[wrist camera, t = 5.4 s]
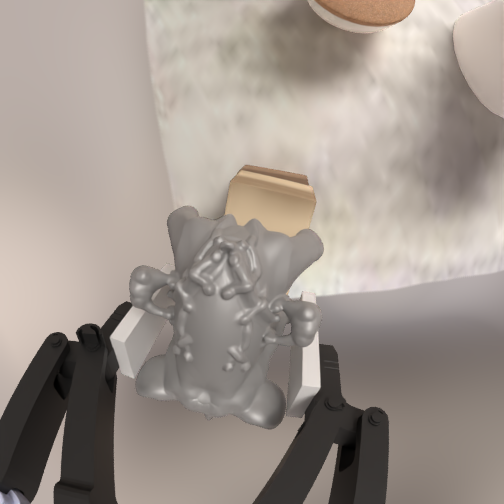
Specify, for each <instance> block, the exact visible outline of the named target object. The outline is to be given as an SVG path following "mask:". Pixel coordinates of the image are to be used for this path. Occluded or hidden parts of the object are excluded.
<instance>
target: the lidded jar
mask: <svg viewBox="0 0 504 504" xmlns="http://www.w3.org/2000/svg"><path fill="white" fill-rule="evenodd" d="M307 1H308V3H309V5H310V6H311V8H312V9H313V10H314V11H315V12H316V13H317V14H318V15H319V16H320V17H321V18H322V19H324V20H325V21H326V22H328V23H330V24H331V25H333V26H335V27H337V28H340V29H342V30H346V31H349V32H355V33H375V32H379V31H383V30H385V29H387V28H390V27H392V26H393V25H395V24H396V23H398V22H401V21H402V20H403V19H405V18H406V17H407V16H408V15H409V14H410V13H411V12H412V10H413V8H414V4H415V0H307Z"/></svg>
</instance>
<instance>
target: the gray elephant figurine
mask: <svg viewBox="0 0 504 504" xmlns="http://www.w3.org/2000/svg"><path fill="white" fill-rule="evenodd" d="M167 226H168V232H169V237H170V240H171V246H172V249H173V253H174V260H175V270H172V271H171V272H170V274H166V273H164V272H162V271H160V270H158V269H155V268H152V267H148V266H144V265H142V266H139V267H137V268H135V269H134V271H133V272H132V274H131V279H130V283H129V287H130V288H129V290H130V300H131V303H132V305H133V306H134V307H135V308H139V309H142V310H144V311H146V312H148V313H150V314H153V315H156V316H161V317H164V318H165V319H167V320H169V322H170V323H171V325H173V328H174V335H173V339H172V341H171V343H170V345H169V347H168V349H167V352H166V354H165V355H158V356H155V357H153V358H151V359H149V360H148V361H147V362H146V363H145V364H144V365H143V367H142V368H141V370H140V372H139V374H138V376H137V379H136V391H137V393H138V395H140V396H143V397H148V398H153V399H156V400H161V401H167V400H176V401H179V402H180V403H181V404H182V405H183V406H184V407H185V408H186V409H188V410H190V411H194V412H199V413H203V414H204V415H205V418H206V419H207V420H211V419H212V418H213V417H223V416H226V415H234V416H236V417H238V418H239V419H241V420H242V421H244V422H245V423H248V424H251V425H256V426H259V427H262V428H265V429H274V428H276V427H277V426H278V425H279V424H280V423H281V422H282V420H283V418H284V415H285V410H286V399H285V395H284V393H283V391H282V389H281V388H280V387H279V386H278V385H277V384H275V383H274V382H273V381H271V380H269V379H267V378H266V376H267V372H268V369H269V362H270V358H271V356H272V355H273V353H274V352H275V350H276V349H277V347H278V345H283V346H298V347H307V346H309V345H310V344H311V343H312V342H313V340H314V338H315V334H316V333H317V331H318V329H319V327H320V324H321V321H322V312H321V309H320V308H319V306H318V305H316V304H315V303H313V302H307V301H293V300H291V299H290V298H289V296H288V295H286V293H287V292H288V290H289V289H290V287H291V286H292V284H293V282H294V281H295V280H296V279H297V278H298V276H299V275H300V274H301V273H302V272H303V271H304V270H305V269H307V268H308V267H309V266H310V265H311V264H312V263H313V262H315V261H317V260H318V259H319V258H320V257H321V256H322V254H323V251H324V247H323V243H322V241H321V239H320V238H319V236H318V235H317V234H316V233H315V232H314V231H312V230H310V229H303V230H300V231H299V232H298V233H297V234H296V236H293V237H289V236H287V235H286V234H283V233H280V232H274V231H268V230H267V229H266V228H265V227H264V226H263V225H262V224H261V222H260V221H259V220H257V219H255V218H254V219H251V220H250V221H248V222H247V223H246V224H245V225H244V226H241V225H237V222H236V219H235V217H234V216H233V215H232V214H227V215H224V216H223V217H221V218H219V219H217V220H211V219H208V218H204V217H199V214H198V211H197V210H196V209H195V208H194V207H192V206H183V207H181V208H179V209H177V210H175V211H173V212H172V213H171V214H170V215H169V217H168V220H167ZM166 285H168V286H169V288H170V289H172V290H169V291H168V293H167V296H168V297H170V298H171V299H173V301H175V305H170V306H168V307H167V308H160V307H158V306H157V305H155V304H154V303H153V301H152V299H151V298H152V296H153V294H154V293H155V292H156V291H157V290H158V289H160V288H162V287H163V286H166ZM289 323H291V333H290V334H288V335H284V336H282V334H283V332H284V328H285V326H286V324H289Z"/></svg>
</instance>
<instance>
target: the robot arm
mask: <svg viewBox="0 0 504 504" xmlns="http://www.w3.org/2000/svg"><path fill="white" fill-rule="evenodd" d="M172 270H175V265H172V264H168V263H166V264H165V265H164V267H163V268H162V269H161V270H160V271H162V272H164V273H166V274H170V272H171V271H172ZM169 290H172V289H170V288H169V286H168V285H166V286H163V287H162V288H160V289H158V290H157V291H156V292H155V293H154V294H153V296H152V298H151V299H152V301H153V303H154V304H155V305H157V306H158V307H160V308H167V307H168V306H170V305H175V301H173V299H171V298H170V297H168V296H167V293H168V291H169ZM300 301H307V302H313V303H315V304H316V297H315V293H311V292H306V291H302V294H301V297H300ZM166 321H167V319H165V318H164V317H161V316H156V315H153V314H150V313H148V312H146V311H144V310H142V309H139V308H135V307H134V306H133V305H132V303H130V302H127V301H126V302H124V303H123V304H121V305H119V306H118V307H117V309H116V310H115V311H114V313H113V314H112V315H111V316H110V318H109V319H108V320H107V321H106V322H105V324H104V325H103V326H102V328H101V329H100V327H99V326H97V325H96V324H85V325H82V326H81V327H80V328H78V330H77V332H76V334H77V337H78V339H79V342H76V341H68V339H67V337H66V335H65V334H63V333H60V332H56V333H52V334H50V335H49V336H48V337H47V338H46V340H45V341H44V343H43V344H42V346H41V347H40V349H39V350H38V352H37V354H36V355H35V357H34V358H33V360H32V362H31V363H30V365H29V367H28V368H27V370H26V372H25V373H24V375H23V377H22V379H21V380H20V382H19V384H18V386H17V388H16V390H15V391H14V393H13V395H12V397H11V399H10V401H9V403H8V405H7V407H6V409H5V411H4V413H3V415H2V417H1V419H0V504H31V502H32V501H33V499H34V497H35V495H36V493H37V491H38V488H39V485H40V482H41V479H42V476H43V473H44V469H45V466H46V463H47V460H48V457H49V454H50V452H51V449H52V446H53V443H54V440H55V438H56V435H57V433H58V430H59V427H60V425H61V422H62V420H63V418H64V415H65V413H66V411H67V413H66V419H65V427H64V436H63V446H62V460H61V478H60V481H59V482H57V483H56V484H55V486H54V504H118V503H117V501H116V497H115V483H114V450H113V449H114V412H115V397H116V384H117V375H116V372H117V370H118V368H120V371H121V374H123V375H126V376H128V377H131V378H135V377H136V375H137V373H138V371H139V370H140V368H141V366H142V364H143V362H144V361H145V359H146V357H147V355H148V353H149V351H150V350H151V348H152V346H153V344H154V342H155V341H156V339H157V337H158V335H159V334H160V332H161V330H162V328H163V327H164V325H165V323H166ZM340 385H341V384H340V373H339V364H338V354H337V352H336V350H335V349H334V347H333V346H330V345H323V344H319V342H318V331H317V333H316V334H315V338H314V340H313V342H312V343H311V344H310V345H309V346H307V347H298V346H291V350H290V368H289V383H288V398H287V409H286V416H290V417H299V418H302V417H303V415H304V413H305V421H304V422H303V424H302V425H301V427H300V428H299V430H298V433H297V435H296V436H295V439H294V440H293V442H292V443H291V445H290V447H289V449H288V450H287V452H286V454H285V455H284V457H283V459H282V460H281V462H280V464H279V465H278V467H277V468H276V470H275V472H274V473H273V474H272V476H271V478H270V479H269V481H268V482H267V484H266V485H265V487H264V488H263V489H262V491H261V492H260V494H259V495H258V497H257V498H256V499H255V501H254V502H253V504H303V502H304V500H305V498H306V497H307V494H308V493H309V491H310V489H311V487H312V486H313V484H314V482H315V480H316V478H317V476H318V474H319V472H320V470H321V468H322V466H323V464H324V462H325V460H326V457H327V455H328V453H329V451H330V449H331V446H332V444H333V443H335V444H338V452H337V458H336V465H335V472H334V477H333V483H332V488H331V493H330V498H329V503H328V504H385V500H386V489H387V476H388V475H387V474H388V452H389V421H388V416H387V414H386V413H385V411H383V410H382V409H380V408H377V407H370V408H368V409H366V410H365V411H364V410H361V409H358V408H355V407H353V406H351V405H349V404H348V403H346V400H345V399H344V398H343V397H342V394H341V386H340Z"/></svg>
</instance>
